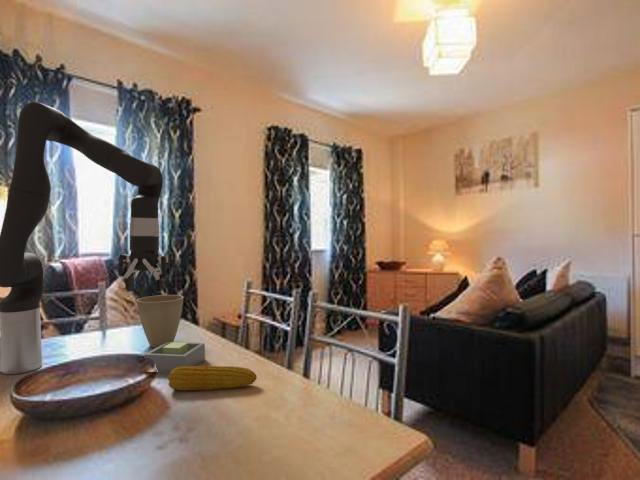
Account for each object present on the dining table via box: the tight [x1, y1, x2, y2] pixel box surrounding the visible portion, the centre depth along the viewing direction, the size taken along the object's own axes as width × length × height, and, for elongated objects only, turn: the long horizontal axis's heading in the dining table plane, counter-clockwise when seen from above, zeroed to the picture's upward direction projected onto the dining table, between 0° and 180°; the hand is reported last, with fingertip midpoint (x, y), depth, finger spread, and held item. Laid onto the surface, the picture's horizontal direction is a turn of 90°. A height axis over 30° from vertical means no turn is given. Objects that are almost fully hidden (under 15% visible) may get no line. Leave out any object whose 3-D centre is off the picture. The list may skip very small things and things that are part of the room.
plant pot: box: [136, 294, 184, 348], centre depth 135 cm, size 15×15×16 cm
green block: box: [163, 341, 189, 355], centre depth 114 cm, size 5×5×5 cm
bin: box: [143, 341, 206, 375], centre depth 114 cm, size 12×12×5 cm
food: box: [168, 365, 258, 391], centre depth 98 cm, size 21×6×6 cm, turn 97°
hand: (144, 292), depth 110 cm, fingers open, 8 cm apart
